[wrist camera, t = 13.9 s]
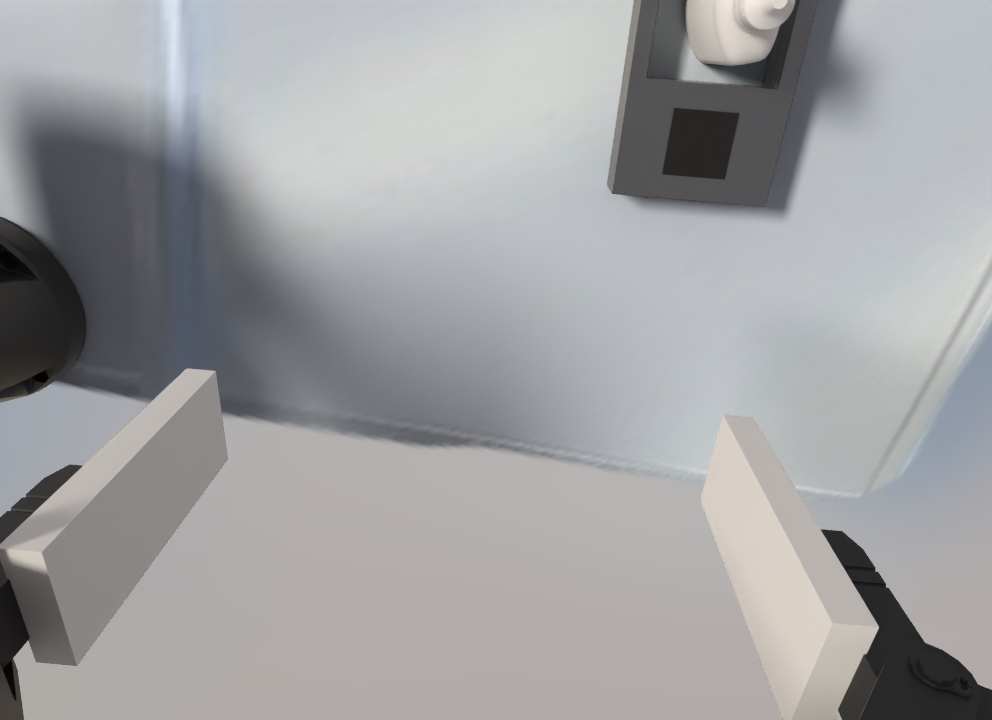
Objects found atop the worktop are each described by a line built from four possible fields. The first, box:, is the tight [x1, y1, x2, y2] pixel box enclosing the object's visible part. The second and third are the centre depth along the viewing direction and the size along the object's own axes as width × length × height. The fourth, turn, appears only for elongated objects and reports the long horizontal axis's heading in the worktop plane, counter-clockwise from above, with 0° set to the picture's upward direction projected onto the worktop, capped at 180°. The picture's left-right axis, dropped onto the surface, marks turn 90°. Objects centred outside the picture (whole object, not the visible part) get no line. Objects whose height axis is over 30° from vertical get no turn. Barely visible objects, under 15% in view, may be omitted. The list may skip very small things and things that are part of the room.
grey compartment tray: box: [607, 0, 818, 207], centre depth 39 cm, size 10×22×3 cm, turn 176°
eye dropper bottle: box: [686, 0, 795, 66], centre depth 35 cm, size 4×6×12 cm
